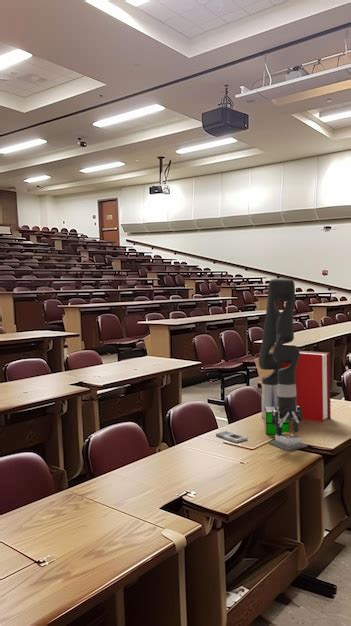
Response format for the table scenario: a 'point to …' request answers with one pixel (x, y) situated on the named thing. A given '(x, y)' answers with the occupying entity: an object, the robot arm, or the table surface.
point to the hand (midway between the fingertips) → (287, 433)
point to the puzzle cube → (268, 421)
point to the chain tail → (229, 436)
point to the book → (313, 385)
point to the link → (288, 440)
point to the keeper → (287, 435)
